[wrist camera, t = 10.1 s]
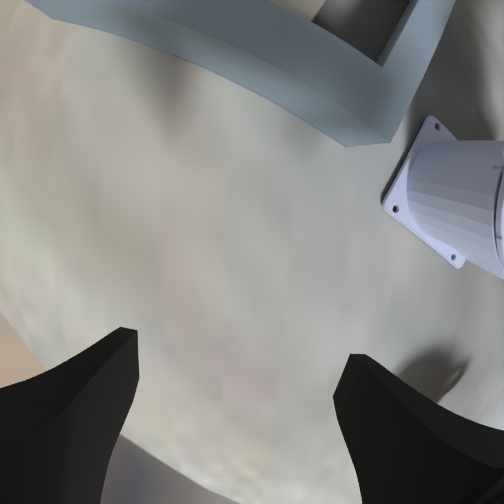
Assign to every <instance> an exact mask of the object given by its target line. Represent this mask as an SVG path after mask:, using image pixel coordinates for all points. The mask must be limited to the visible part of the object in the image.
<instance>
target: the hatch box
mask: <svg viewBox="0 0 504 504" xmlns="http://www.w3.org/2000/svg"><path fill="white" fill-rule="evenodd" d="M25 1H26V2H28V3H29V4H31V5H33V6H34V7H36V8H37V9H39V10H40V11H42V12H43V13H45V14H46V15H48V16H49V17H51V18H52V19H55V20H60V21H65V22H70V23H74V24H78V25H82V26H86V27H90V28H94V29H98V30H101V31H105V32H108V33H112V34H115V35H118V36H121V37H125V38H128V39H131V40H134V41H137V42H140V43H143V44H145V45H148V46H151V47H154V48H156V49H159V50H162V51H164V52H167V53H170V54H172V55H175V56H177V57H180V58H182V59H184V60H187V61H189V62H192V63H194V64H196V65H199V66H201V67H203V68H205V69H208V70H210V71H212V72H214V73H216V74H218V75H221V76H223V77H225V78H227V79H229V80H231V81H233V82H235V83H237V84H239V85H241V86H243V87H245V88H247V89H249V90H251V91H253V92H255V93H256V94H258V95H260V96H262V97H264V98H266V99H268V100H269V101H271V102H273V103H275V104H277V105H278V106H280V107H282V108H284V109H285V110H287V111H289V112H290V113H292V114H294V115H296V116H297V117H299V118H301V119H302V120H304V121H305V122H307V123H309V124H310V125H312V126H314V127H315V128H317V129H318V130H320V131H321V132H323V133H325V134H326V135H328V136H329V137H331V138H332V139H334V140H335V141H337V142H338V143H340V144H341V145H343V146H344V147H352V146H361V145H371V144H381V143H390V142H391V141H392V139H393V137H394V135H395V133H396V131H397V129H398V127H399V125H400V123H401V121H402V119H403V117H404V115H405V113H406V111H407V109H408V107H409V105H410V103H411V101H412V99H413V97H414V95H415V93H416V91H417V89H418V87H419V85H420V83H421V80H422V78H423V76H424V74H425V72H426V70H427V67H428V65H429V63H430V61H431V59H432V56H433V54H434V52H435V50H436V47H437V45H438V43H439V40H440V38H441V36H442V33H443V31H444V28H445V26H446V24H447V21H448V19H449V16H450V14H451V11H452V8H453V6H454V3H455V1H456V0H410V2H409V4H408V6H407V7H406V9H405V11H404V13H403V15H402V16H401V18H400V20H399V22H398V24H397V26H396V27H395V29H394V31H393V33H392V34H391V36H390V38H389V40H388V42H387V43H386V45H385V47H384V49H383V51H382V52H381V54H380V56H379V58H378V59H377V61H376V63H375V62H374V61H372V60H371V59H370V58H368V57H367V56H365V55H364V54H362V53H361V52H360V51H358V50H357V49H355V48H354V47H352V46H351V45H349V44H348V43H346V42H344V41H343V40H341V39H340V38H338V37H336V36H335V35H333V34H332V33H330V32H328V31H326V30H325V29H323V28H321V27H320V26H318V25H316V24H314V23H313V22H312V21H313V20H314V19H315V17H316V16H317V15H318V13H319V12H320V10H321V9H322V8H323V6H324V5H325V4H326V2H327V1H328V0H25Z"/></svg>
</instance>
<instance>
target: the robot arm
mask: <svg viewBox="0 0 504 504" xmlns="http://www.w3.org/2000/svg"><path fill="white" fill-rule="evenodd" d="M435 124H436V125H437V130H436V128H435ZM394 206H396V211H395V212H393V207H394ZM382 208H383V209H384V211H386V212H387V213H388V214H390V215H391V216H392V217H394V218H395V219H396V220H398V221H399V222H400V223H402V224H403V225H404V226H405V227H407V228H408V229H409V230H411V231H412V232H413V233H414V234H416V235H417V236H418V237H419V238H421V239H422V240H423V241H424V242H426V243H427V244H428V245H429V246H430V247H432V248H433V249H434V250H435V251H436V252H438V253H439V254H440V255H441V256H442V257H444V258H445V259H446V260H447V261H448V262H449V263H450V264H452V265H453V266H454V267H455V268H457V269H459V268H461V267H462V265H463V264H464V262H465V260H468V261H470V262H472V263H474V264H476V265H477V266H479V267H481V268H483V269H485V270H487V271H489V272H490V273H492V274H494V275H496V276H498V277H499V278H501V279H503V280H504V141H490V140H459V141H458V140H457V139H456V138H455V137H454V135H453V134H452V133H451V132H450V131H449V130H448V129H447V128H446V127H445V126H444V125H443V124H442V123H441V122H440V121H439V120H438V119H436V118H435V117H434V116H427V117H426V118H425V121H424V123H423V125H422V127H421V129H420V131H419V133H418V135H417V137H416V139H415V141H414V143H413V145H412V147H411V149H410V151H409V153H408V155H407V157H406V159H405V161H404V163H403V165H402V167H401V168H400V170H399V172H398V174H397V176H396V178H395V180H394V182H393V183H392V185H391V187H390V189H389V191H388V192H387V194H386V196H385V198H384V200H383V202H382ZM452 255H453V257H452ZM451 257H452V258H451ZM138 381H139V361H138V331H137V330H133V329H128V328H123V327H119V328H118V329H116V330H114V331H113V332H111V333H110V334H108V335H107V336H105V337H104V338H102V339H101V340H99V341H98V342H96V343H95V344H93V345H92V346H90V347H89V348H87V349H86V350H84V351H82V352H81V353H79V354H78V355H76V356H74V357H72V358H70V359H69V360H67V361H65V362H63V363H62V364H60V365H58V366H56V367H54V368H52V369H50V370H48V371H46V372H44V373H42V374H39V375H37V376H35V377H32V378H30V379H27V380H25V381H22V382H19V383H15V384H12V385H9V386H6V387H3V388H0V504H100V500H101V495H102V490H103V485H104V480H105V476H106V472H107V468H108V464H109V460H110V457H111V454H112V451H113V448H114V446H115V443H116V441H117V439H118V436H119V434H120V431H121V429H122V426H123V424H124V422H125V419H126V417H127V414H128V412H129V410H130V407H131V405H132V402H133V399H134V395H135V392H136V388H137V384H138ZM333 400H334V406H335V411H336V415H337V420H338V423H339V426H340V429H341V431H342V434H343V437H344V440H345V442H346V445H347V448H348V451H349V453H350V456H351V459H352V462H353V464H354V467H355V471H356V474H357V478H358V482H359V487H360V492H361V497H362V504H504V431H503V430H499V429H495V428H491V427H488V426H485V425H482V424H479V423H476V422H474V421H471V420H469V419H466V418H464V417H461V416H459V415H457V414H455V413H453V412H451V411H449V410H447V409H445V408H443V407H441V406H440V405H438V404H436V403H434V402H433V401H431V400H430V399H428V398H427V397H425V396H423V395H422V394H420V393H419V392H417V391H416V390H414V389H413V388H412V387H410V386H409V385H407V384H406V383H405V382H403V381H402V380H401V379H399V378H398V377H397V376H395V375H394V374H393V373H391V372H390V371H389V370H387V369H386V368H385V367H383V366H382V365H380V364H379V363H378V362H376V361H375V360H373V359H372V358H370V357H369V356H367V355H366V354H350V356H349V358H348V361H347V363H346V366H345V368H344V371H343V373H342V376H341V378H340V381H339V383H338V385H337V388H336V390H335V392H334V395H333Z"/></svg>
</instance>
